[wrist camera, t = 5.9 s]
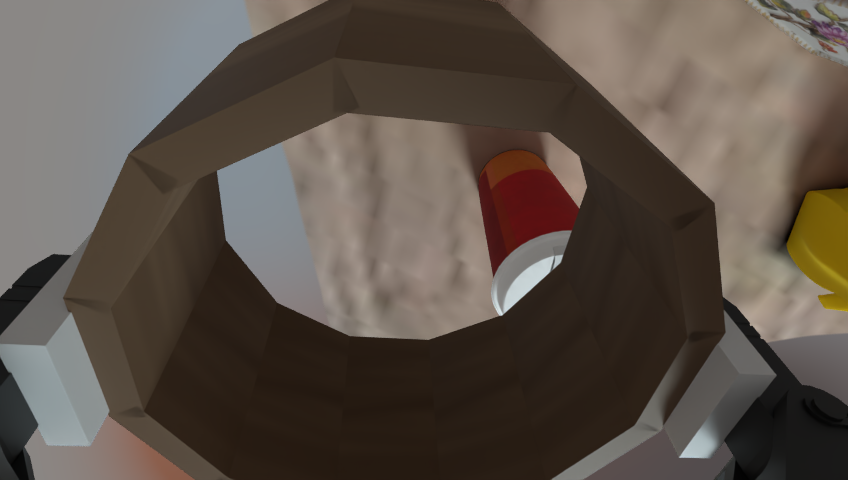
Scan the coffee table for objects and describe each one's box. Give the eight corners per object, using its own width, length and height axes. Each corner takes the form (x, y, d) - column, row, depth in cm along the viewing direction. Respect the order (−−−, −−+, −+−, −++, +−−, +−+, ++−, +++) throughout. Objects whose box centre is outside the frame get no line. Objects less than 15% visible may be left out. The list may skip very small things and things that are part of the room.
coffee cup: (520, 236, 45) (568, 364, 33) (445, 196, 42) (468, 320, 30) (582, 165, 41) (664, 279, 29) (505, 115, 38) (559, 219, 26)
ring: (155, -42, 11) (-48, 15, 6) (672, 24, 12) (868, 116, 7) (218, 344, 17) (150, 521, 12) (545, 358, 19) (599, 524, 14)
